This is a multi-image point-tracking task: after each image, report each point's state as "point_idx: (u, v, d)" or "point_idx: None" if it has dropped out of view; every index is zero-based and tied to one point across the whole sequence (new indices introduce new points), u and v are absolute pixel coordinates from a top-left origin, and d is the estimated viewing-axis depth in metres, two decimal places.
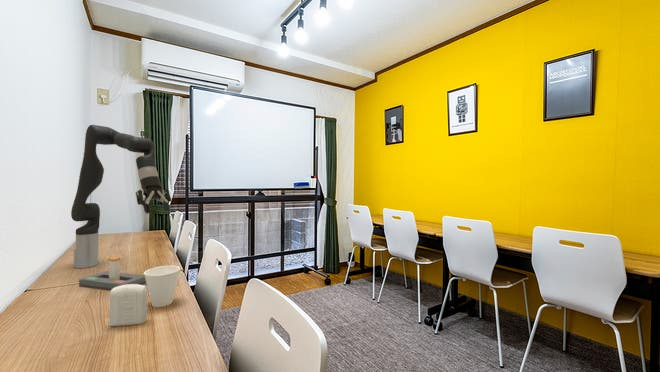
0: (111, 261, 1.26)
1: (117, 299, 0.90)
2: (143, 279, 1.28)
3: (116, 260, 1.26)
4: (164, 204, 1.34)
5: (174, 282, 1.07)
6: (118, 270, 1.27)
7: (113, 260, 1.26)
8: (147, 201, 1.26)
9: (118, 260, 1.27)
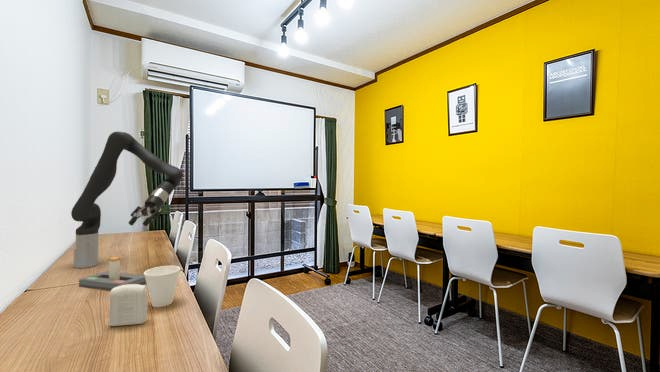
0: (111, 261, 1.26)
1: (117, 299, 0.90)
2: (143, 279, 1.28)
3: (116, 260, 1.26)
4: (135, 219, 1.41)
5: (174, 282, 1.07)
6: (118, 270, 1.27)
7: (113, 260, 1.26)
8: None
9: (118, 260, 1.27)
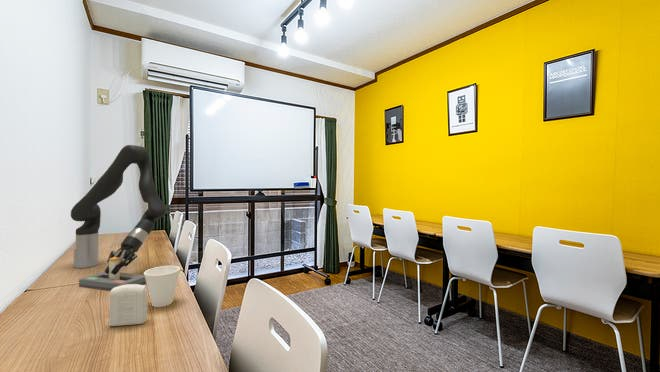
0: (111, 261, 1.26)
1: (117, 299, 0.90)
2: (143, 279, 1.28)
3: (116, 260, 1.26)
4: None
5: (174, 282, 1.07)
6: None
7: (113, 260, 1.26)
8: None
9: (118, 260, 1.27)
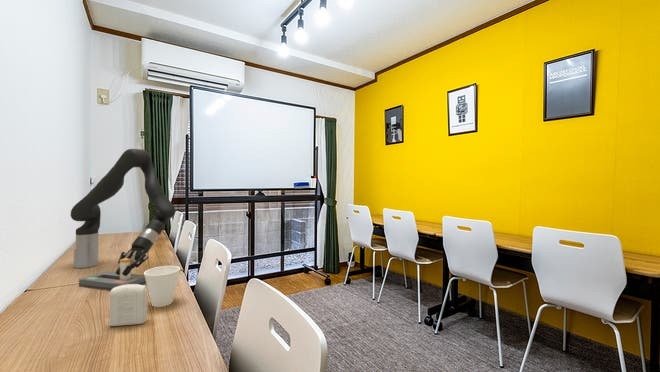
0: (122, 262, 1.25)
1: (117, 299, 0.90)
2: (143, 279, 1.28)
3: (127, 261, 1.25)
4: None
5: (174, 282, 1.07)
6: None
7: (124, 261, 1.24)
8: None
9: (129, 261, 1.26)
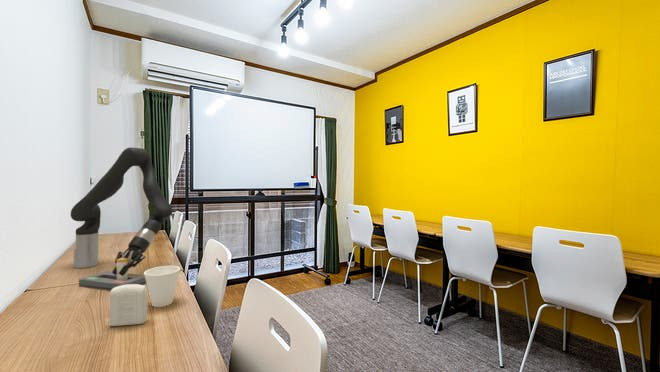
0: (118, 262, 1.25)
1: (117, 299, 0.90)
2: (143, 279, 1.28)
3: (124, 261, 1.25)
4: None
5: (174, 282, 1.07)
6: None
7: (121, 261, 1.25)
8: None
9: (126, 261, 1.26)
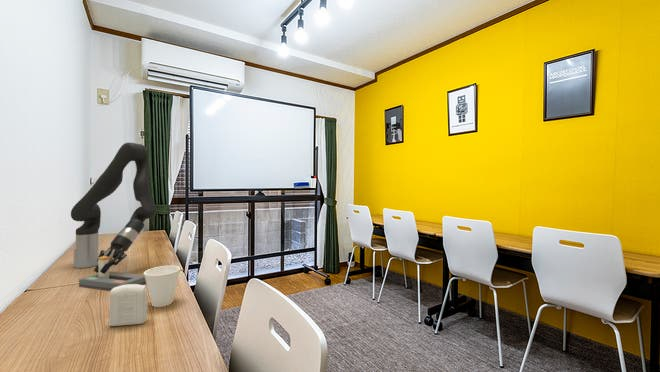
0: (100, 260, 1.28)
1: (117, 299, 0.90)
2: (143, 279, 1.28)
3: (105, 259, 1.28)
4: None
5: (174, 282, 1.07)
6: None
7: (102, 259, 1.27)
8: None
9: (107, 259, 1.29)
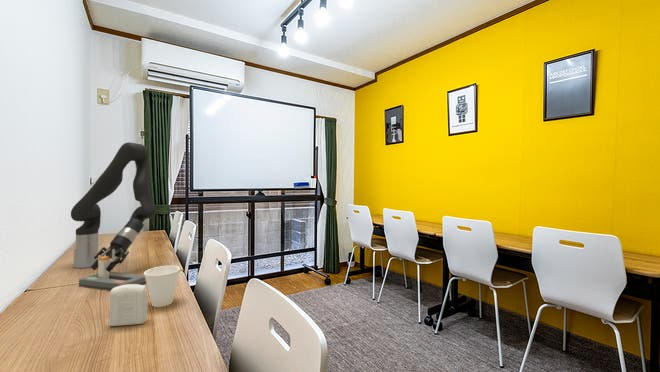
0: (100, 260, 1.28)
1: (117, 299, 0.90)
2: (143, 279, 1.28)
3: (105, 259, 1.28)
4: None
5: (174, 282, 1.07)
6: None
7: (102, 259, 1.27)
8: None
9: (107, 259, 1.29)
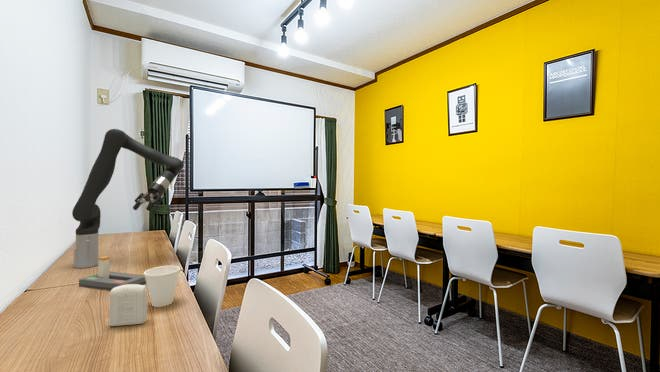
0: (100, 260, 1.28)
1: (117, 299, 0.90)
2: (143, 279, 1.28)
3: (105, 259, 1.28)
4: (138, 204, 1.52)
5: (174, 282, 1.07)
6: (107, 269, 1.29)
7: (102, 259, 1.27)
8: None
9: (107, 259, 1.29)
